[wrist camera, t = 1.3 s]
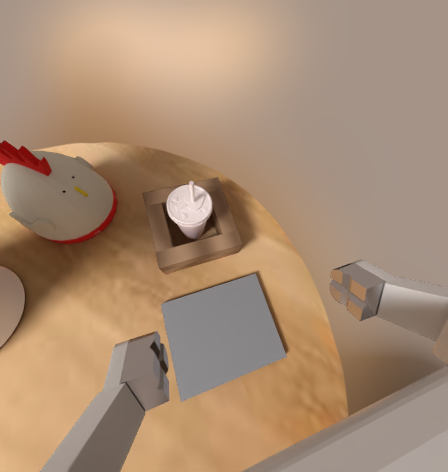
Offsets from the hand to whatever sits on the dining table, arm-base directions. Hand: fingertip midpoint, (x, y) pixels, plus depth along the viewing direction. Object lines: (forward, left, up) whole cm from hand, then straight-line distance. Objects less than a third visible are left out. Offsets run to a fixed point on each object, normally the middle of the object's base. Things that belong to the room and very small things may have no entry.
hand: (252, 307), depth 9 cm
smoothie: (0, +15, -25) cm, 29 cm away
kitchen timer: (-19, +25, -25) cm, 40 cm away
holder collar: (0, +15, -25) cm, 29 cm away
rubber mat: (0, -3, -25) cm, 25 cm away
